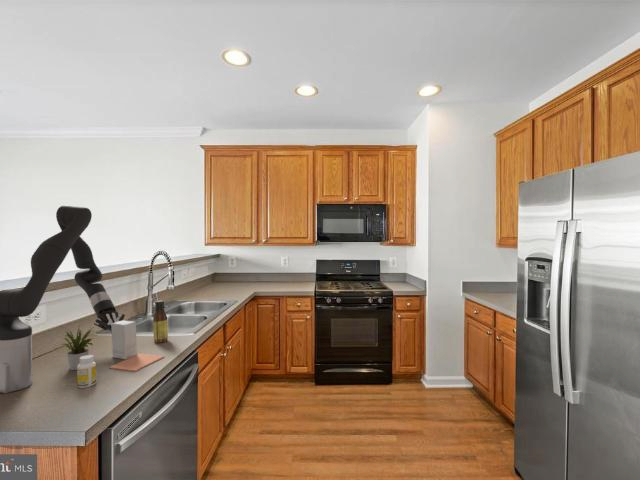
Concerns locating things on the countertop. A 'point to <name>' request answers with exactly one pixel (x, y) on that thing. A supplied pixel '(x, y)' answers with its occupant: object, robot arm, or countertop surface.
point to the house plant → (76, 348)
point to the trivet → (137, 362)
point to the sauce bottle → (160, 323)
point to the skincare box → (124, 339)
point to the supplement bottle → (86, 372)
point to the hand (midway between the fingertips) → (117, 335)
